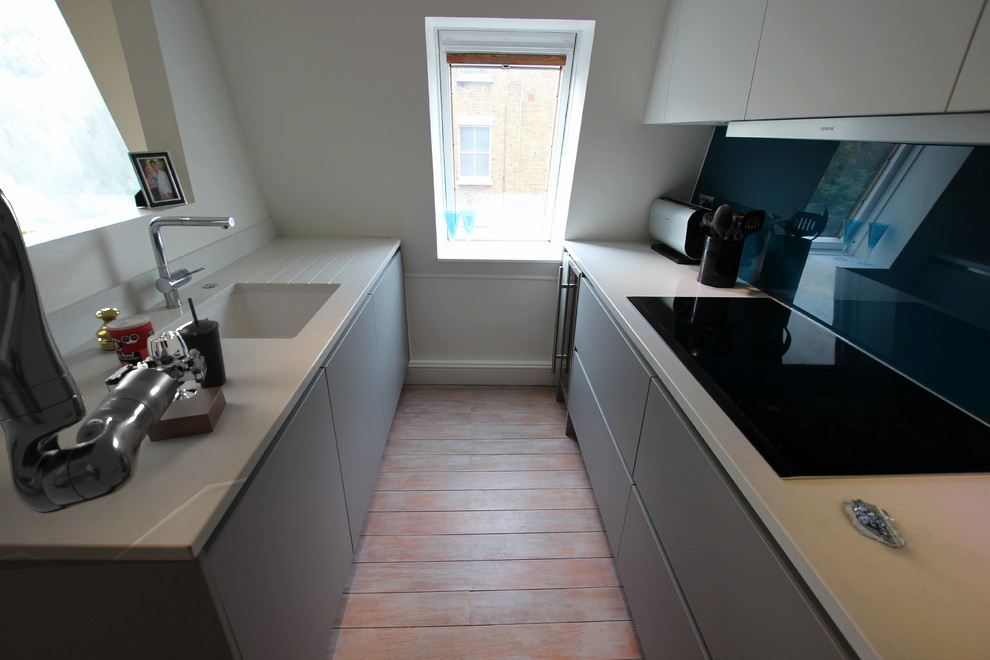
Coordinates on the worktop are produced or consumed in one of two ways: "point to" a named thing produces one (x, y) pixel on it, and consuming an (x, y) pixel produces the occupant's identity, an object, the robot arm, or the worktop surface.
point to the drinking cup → (205, 347)
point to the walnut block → (190, 415)
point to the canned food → (131, 338)
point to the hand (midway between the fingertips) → (176, 355)
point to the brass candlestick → (103, 333)
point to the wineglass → (169, 355)
